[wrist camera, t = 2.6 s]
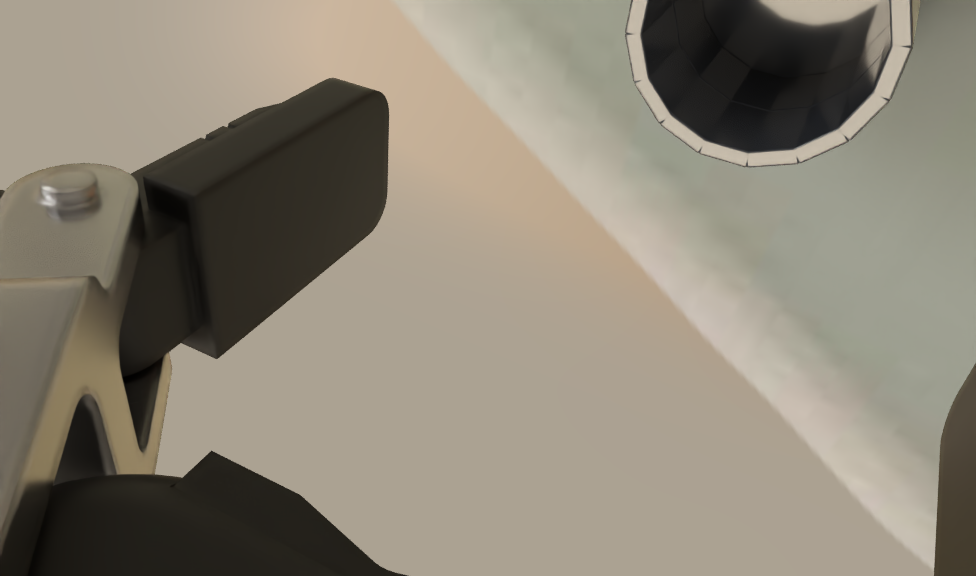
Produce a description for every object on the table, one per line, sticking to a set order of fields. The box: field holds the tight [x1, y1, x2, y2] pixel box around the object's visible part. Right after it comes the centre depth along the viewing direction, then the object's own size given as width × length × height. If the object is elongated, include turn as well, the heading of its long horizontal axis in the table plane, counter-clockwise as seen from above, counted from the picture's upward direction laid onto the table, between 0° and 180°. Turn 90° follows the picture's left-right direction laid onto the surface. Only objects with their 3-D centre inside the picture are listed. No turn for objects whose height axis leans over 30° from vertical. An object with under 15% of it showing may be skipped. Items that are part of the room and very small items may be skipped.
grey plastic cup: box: [625, 0, 921, 167], centre depth 20 cm, size 6×6×6 cm
